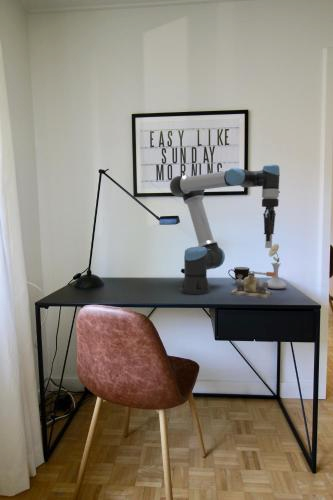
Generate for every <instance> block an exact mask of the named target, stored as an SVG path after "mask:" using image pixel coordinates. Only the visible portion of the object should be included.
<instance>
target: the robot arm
mask: <svg viewBox="0 0 333 500" xmlns="http://www.w3.org/2000/svg"><path fill="white" fill-rule="evenodd" d="M280 174H281V173H280V165H278V164H266V165H263V167H262V169H261V170H256V171H255V170H254V171H253V170H247V169H243V168H238V167H232V168H230V169H228V170H223V171H217V172H211V173H210V172H209V173H205V174H203V173H202V174H198V175H191V176H189V175H185V174H184V175H177V176H174V177H173V178H172V180H171V181H170V183H169V190H170V192H171V194H172V195H174V196H175V197H178V198H182V199H183V203H184V204H185V205H187V207H188V211H189V213H190V215H189V216H190V218H191V222H192V225H193V228H194V232H195V235H196V240H197V242H198V245H197V246H191V247H188V248H186V249H185V251H184V255H183V258H184V265H183V267H184V269H185V274H184V278H183V281H182V283H181V289H180V291H181V293H183V294H187V295H205V294H209V293H210V291H211V287H210V284H209V280H208V278H207V276H208V275H207V272H208V271H209V270H212V269H213V270H214V269H217V268H220V267H221V266H223V264H224V262H225V260H226V259H225V258H226V254H225V252H224V250H223V249H222V248H221V247H219V245H218V241H215V240H214V238H213V234H212V231H211V227H210V223H209V220H208V217H207V214H206V210H205V206H204V202H203V200H204V198H205V197H204V196H205V195H204V194H205V190H212V189H218V188H219V189H220V188H226V187H227V188H228V187H236V186H237V187H238V186H240V187H241V188H257V187H258V188H259V187H262V188H261V189H262V191H261V198H262V199H261V207H263V208H265V209H264V212H263V214H262V215H263V225H264V228H263V229H264V232H263V235H265V246H264V248H265V249H271V248H272V246H273V235H275V230H274V229H275V223H276V222H275V221H276V216H277V215H276V211H275V208H277V207H278V206H279V201H280V200H279V199H278V198H279V196H280V192H281V191H280V176H281V175H280Z"/></svg>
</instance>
